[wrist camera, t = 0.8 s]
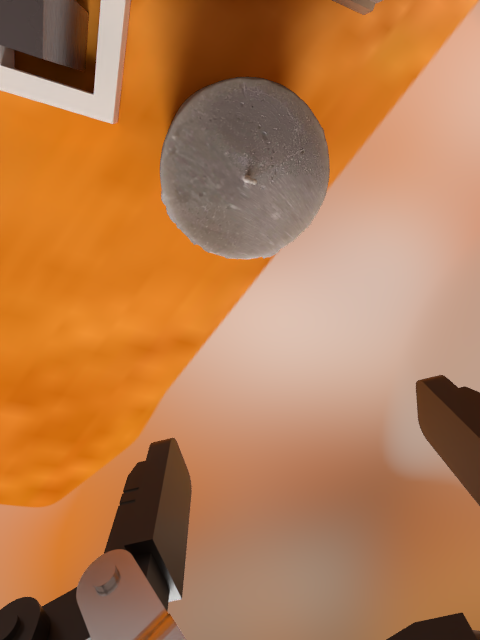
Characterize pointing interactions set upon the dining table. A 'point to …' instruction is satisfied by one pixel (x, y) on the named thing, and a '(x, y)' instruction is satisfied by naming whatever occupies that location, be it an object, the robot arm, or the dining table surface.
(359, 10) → the grey slotted fixture
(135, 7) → the dining table surface
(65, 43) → the steel pin
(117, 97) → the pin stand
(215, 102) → the pillar candle
